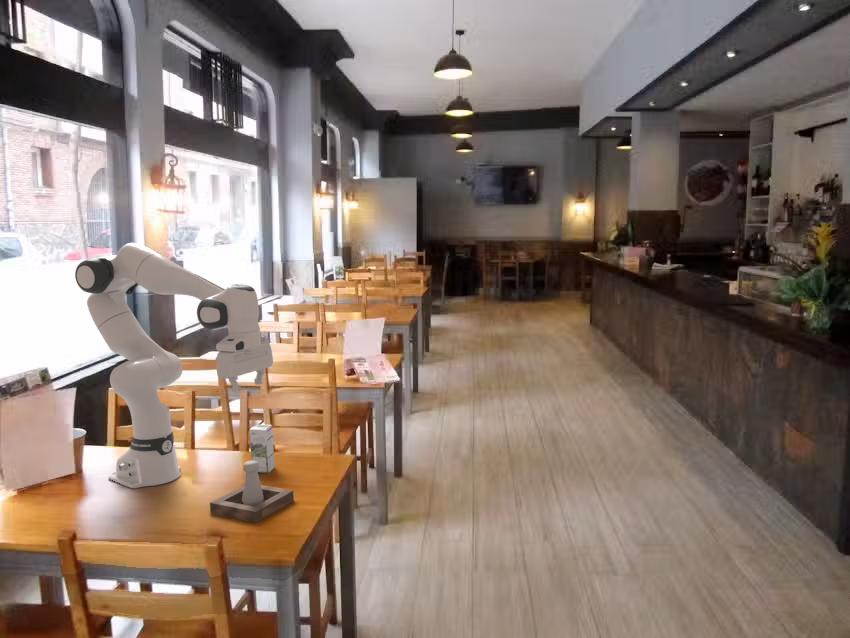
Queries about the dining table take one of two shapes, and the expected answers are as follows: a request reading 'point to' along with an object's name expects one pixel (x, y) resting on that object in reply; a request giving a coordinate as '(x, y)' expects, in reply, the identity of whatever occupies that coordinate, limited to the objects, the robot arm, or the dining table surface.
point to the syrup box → (262, 447)
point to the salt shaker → (252, 485)
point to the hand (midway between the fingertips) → (247, 387)
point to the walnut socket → (232, 509)
